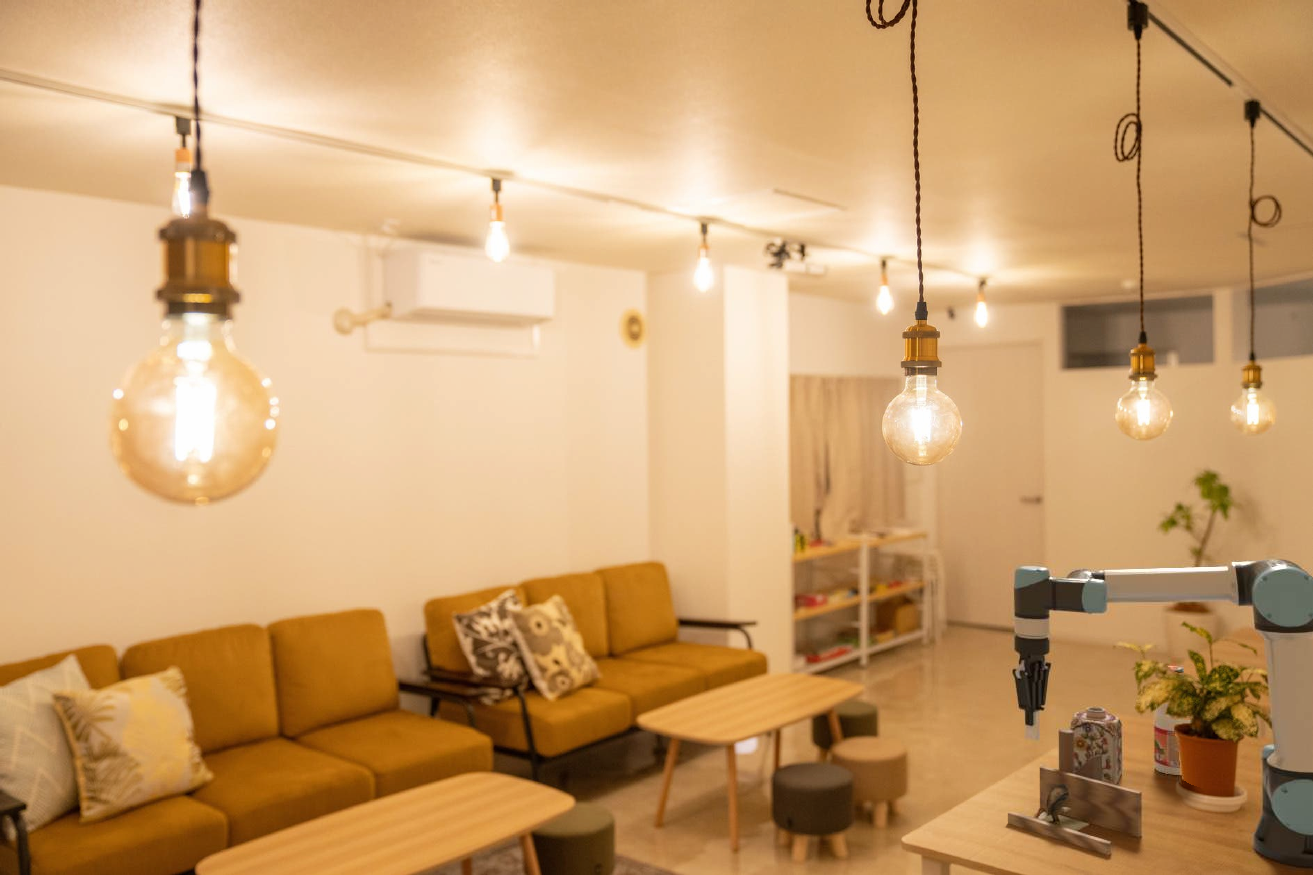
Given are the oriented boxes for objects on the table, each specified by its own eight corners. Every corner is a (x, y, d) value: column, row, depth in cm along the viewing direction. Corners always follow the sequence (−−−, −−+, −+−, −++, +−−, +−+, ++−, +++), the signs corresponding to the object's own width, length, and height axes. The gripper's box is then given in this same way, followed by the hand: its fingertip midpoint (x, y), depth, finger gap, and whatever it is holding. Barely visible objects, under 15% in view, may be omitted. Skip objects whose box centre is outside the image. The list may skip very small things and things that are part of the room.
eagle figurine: (1079, 830, 236) (1078, 791, 236) (1049, 832, 235) (1049, 793, 235) (1062, 817, 244) (1061, 779, 243) (1033, 819, 243) (1033, 781, 243)
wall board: (1141, 835, 233) (1141, 791, 233) (1108, 855, 223) (1108, 809, 223) (1043, 806, 251) (1042, 765, 251) (1007, 823, 241) (1007, 780, 241)
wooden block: (1093, 815, 245) (1093, 740, 245) (1054, 802, 254) (1054, 729, 254) (1103, 812, 247) (1102, 738, 247) (1064, 799, 256) (1064, 727, 256)
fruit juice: (1186, 779, 270) (1186, 673, 269) (1148, 771, 276) (1148, 667, 276) (1198, 770, 276) (1198, 667, 276) (1161, 762, 283) (1161, 661, 283)
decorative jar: (1116, 786, 265) (1116, 717, 265) (1068, 778, 271) (1068, 710, 271) (1123, 772, 275) (1122, 706, 275) (1076, 765, 281) (1076, 700, 281)
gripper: (1031, 628, 240) (1032, 729, 240) (1001, 636, 231) (1001, 740, 231) (1062, 633, 234) (1062, 736, 234) (1032, 641, 226) (1032, 748, 226)
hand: (1032, 738), depth 233 cm, fingers closed
